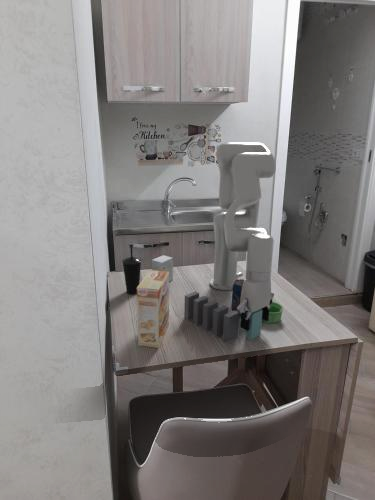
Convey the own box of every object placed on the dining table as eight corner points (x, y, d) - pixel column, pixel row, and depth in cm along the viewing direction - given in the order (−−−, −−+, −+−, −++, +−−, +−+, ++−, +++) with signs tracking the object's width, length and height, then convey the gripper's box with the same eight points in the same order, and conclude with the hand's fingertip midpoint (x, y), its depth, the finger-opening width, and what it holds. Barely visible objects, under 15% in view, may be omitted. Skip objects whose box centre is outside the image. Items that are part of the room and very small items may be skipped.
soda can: (227, 310, 137) (229, 280, 133) (244, 307, 139) (246, 277, 136) (236, 318, 131) (238, 287, 127) (253, 315, 133) (256, 284, 129)
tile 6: (233, 334, 121) (234, 310, 118) (237, 337, 119) (239, 312, 116) (222, 340, 117) (223, 315, 115) (227, 343, 116) (228, 317, 113)
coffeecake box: (159, 348, 113) (159, 289, 106) (137, 346, 114) (135, 287, 108) (170, 324, 127) (170, 270, 120) (149, 322, 128) (148, 269, 122)
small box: (163, 276, 166) (163, 254, 163) (173, 279, 163) (173, 257, 160) (151, 282, 160) (151, 259, 157) (161, 285, 157) (161, 262, 153)
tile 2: (194, 314, 134) (195, 291, 131) (198, 316, 132) (199, 293, 129) (184, 318, 130) (184, 295, 128) (188, 320, 129) (188, 297, 126)
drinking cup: (137, 297, 146) (135, 248, 140) (120, 294, 148) (117, 246, 142) (145, 289, 153) (144, 243, 147) (128, 286, 155) (127, 241, 149)
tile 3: (203, 318, 130) (204, 295, 127) (207, 321, 129) (208, 297, 126) (193, 323, 127) (193, 299, 124) (197, 325, 126) (197, 301, 123)
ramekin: (268, 326, 126) (269, 315, 125) (251, 315, 133) (252, 304, 132) (287, 320, 131) (288, 308, 129) (269, 309, 138) (270, 299, 136)
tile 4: (213, 324, 127) (214, 300, 124) (217, 326, 126) (218, 302, 123) (202, 328, 124) (203, 304, 121) (206, 331, 122) (207, 306, 120)
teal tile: (255, 332, 122) (257, 307, 120) (260, 334, 121) (262, 309, 118) (245, 337, 119) (247, 312, 116) (250, 339, 118) (252, 314, 115)
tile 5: (222, 329, 124) (224, 305, 121) (227, 331, 122) (228, 307, 120) (212, 334, 121) (213, 309, 118) (216, 336, 119) (217, 311, 116)
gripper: (265, 264, 121) (261, 312, 127) (230, 277, 110) (227, 328, 116) (285, 271, 116) (280, 320, 121) (249, 284, 105) (246, 338, 110)
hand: (254, 324), depth 118 cm, fingers open, 9 cm apart
